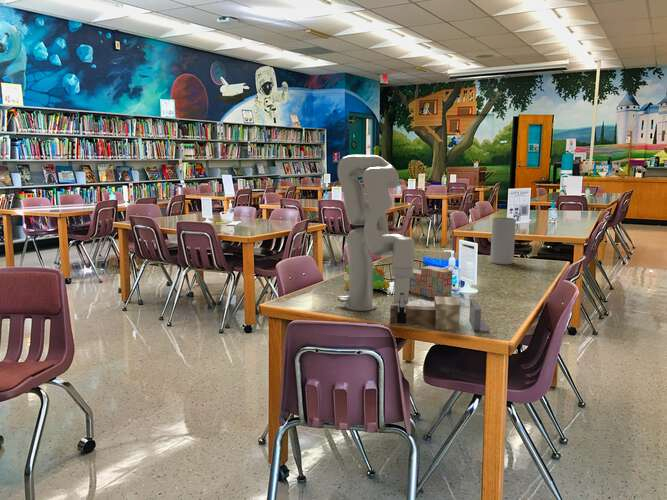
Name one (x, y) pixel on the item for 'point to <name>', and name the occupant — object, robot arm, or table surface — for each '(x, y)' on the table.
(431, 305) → the calculator
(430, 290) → the stack of blocks
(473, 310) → the grey piece
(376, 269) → the turtle toy
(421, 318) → the walnut bar
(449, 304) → the maple block
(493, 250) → the cylinder vase
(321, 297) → the table surface
